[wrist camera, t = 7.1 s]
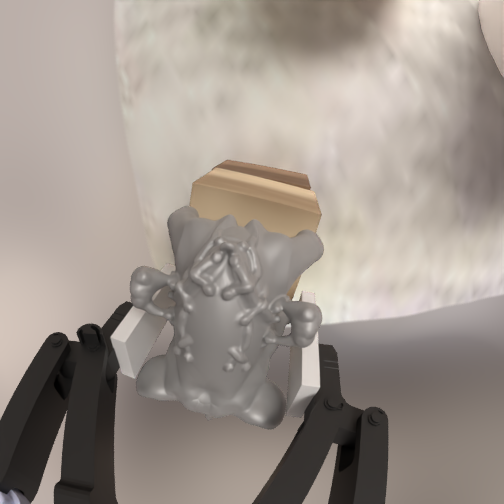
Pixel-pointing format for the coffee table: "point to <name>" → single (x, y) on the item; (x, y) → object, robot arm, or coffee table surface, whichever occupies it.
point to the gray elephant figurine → (227, 315)
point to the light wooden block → (256, 203)
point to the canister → (493, 29)
